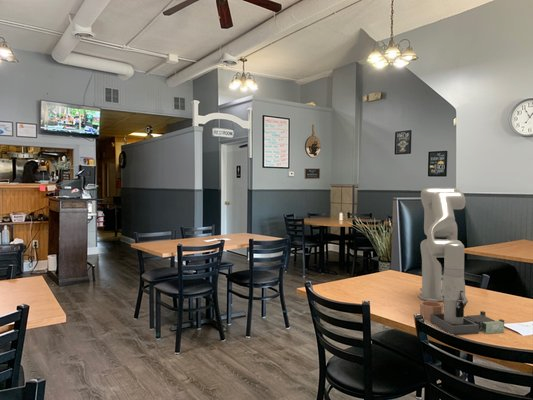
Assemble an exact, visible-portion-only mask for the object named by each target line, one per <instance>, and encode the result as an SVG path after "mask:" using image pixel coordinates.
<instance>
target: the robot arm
mask: <svg viewBox="0 0 533 400" xmlns="http://www.w3.org/2000/svg"><path fill="white" fill-rule="evenodd" d="M420 200H421V205H422V207H423V211H424V214H423V215H424V216H423V218H424V219H423V220H424V221H423V231H424V235H426V239H423V240H422V241H421V242H420V246H419V247H420V254H421V288H420V289H419V291H421V293H419V294H418V298H419V299H420V300H422V301H433V302H438V303H440V302H444V297H447V296H449V298H450V300H452V301H456V305H457V307H456V317H464V316H465V308H466V305H467V304H468V302H469V300H468V298H467V296H466V283H465V245H464V244H463V243H462V241H460V240H458V224H457V222H456V217H455V213H454V210H463V209H464V208H465V206H466V197H465V195H464V192H462V191H461V190H460V189H459V188H457V187H427V188H423V189H422V190H421V191H420ZM437 258H444V260H443V261H444V263H443V265H444V266H443V267H444V268H443V269H442V264H441V262H440V261H439V260H438V259H437ZM442 271H443V274H442ZM446 295H447V296H446ZM458 299H461V300H458ZM459 302H461V303H460V304H459Z"/></svg>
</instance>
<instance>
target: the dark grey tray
mask: <svg viewBox="0 0 533 400" xmlns="http://www.w3.org/2000/svg"><path fill="white" fill-rule="evenodd" d="M429 322H430V323H431V324H432V325H434V326H435V327H438V328H439V329H441V330H443V331H444V332H446V333H448V332H449V333H451V334H454V335H453V336H463V335H477V334H479V333H480V332H479V325H478V324H476V323H474V322H472V321H470V320H468V319H466V318H464V317H463V323H462V324H461V325H458V326H455V325H451V324H449V323H447V322H445V321H444V312H443V314H430V320H429ZM449 333H448V334H449ZM451 334H450V335H451Z"/></svg>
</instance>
